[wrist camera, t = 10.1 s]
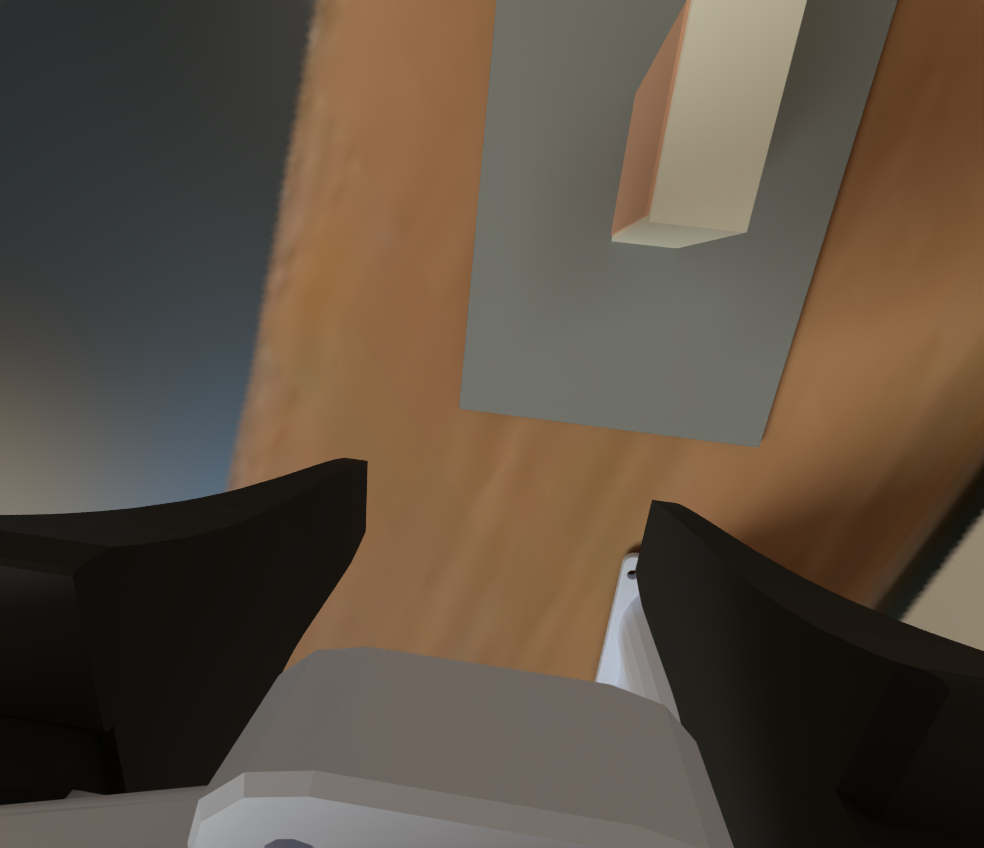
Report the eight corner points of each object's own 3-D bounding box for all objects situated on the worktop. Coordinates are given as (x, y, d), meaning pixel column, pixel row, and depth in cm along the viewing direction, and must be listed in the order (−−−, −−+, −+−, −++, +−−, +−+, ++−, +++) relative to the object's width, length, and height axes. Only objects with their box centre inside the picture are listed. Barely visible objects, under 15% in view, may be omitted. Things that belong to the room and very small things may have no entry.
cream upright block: (709, 96, 16) (808, -7, 10) (676, 248, 17) (746, 232, 12) (635, 89, 16) (691, -17, 10) (608, 240, 18) (645, 221, 12)
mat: (754, 444, 20) (758, 447, 20) (460, 406, 20) (459, 408, 20) (917, -88, 14) (927, -97, 14) (508, -118, 15) (508, -128, 15)
